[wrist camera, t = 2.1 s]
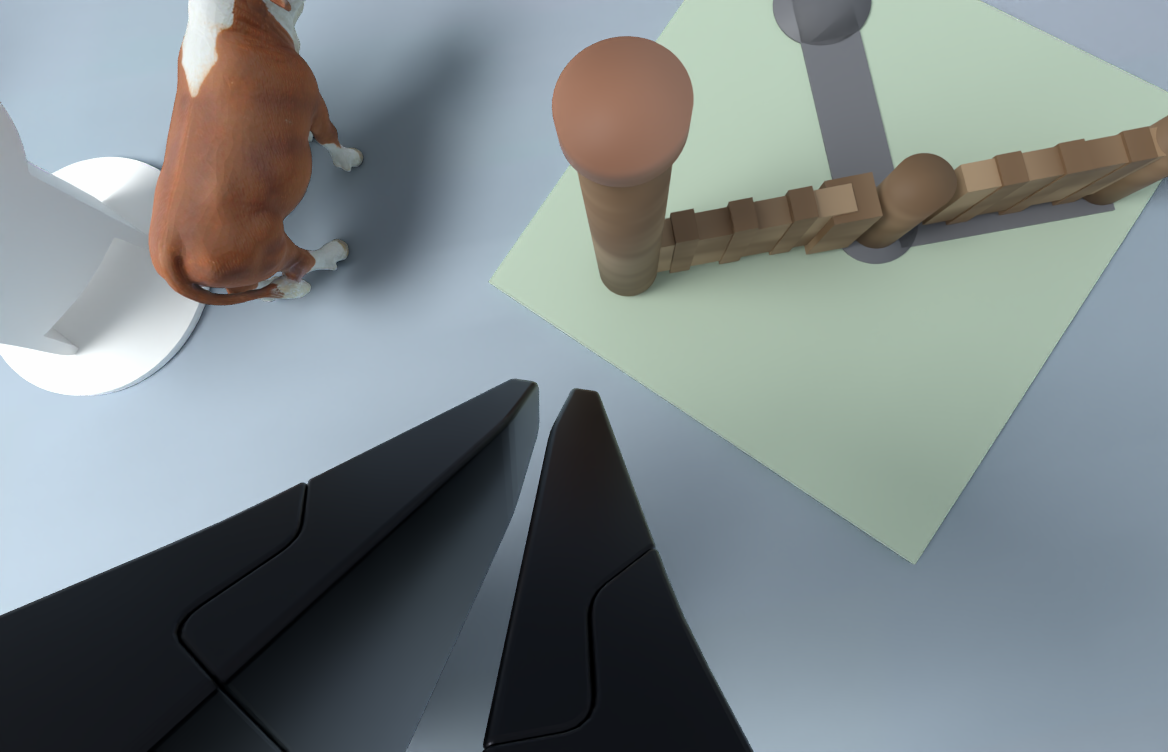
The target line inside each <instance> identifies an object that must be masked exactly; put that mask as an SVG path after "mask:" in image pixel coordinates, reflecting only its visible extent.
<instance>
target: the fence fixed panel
mask: <svg viewBox="0 0 1168 752" xmlns="http://www.w3.org/2000/svg"><path fill="white" fill-rule="evenodd" d="M1165 177H1168V115H1167V116H1166V117H1164V118H1162V119H1161V120H1159V121H1157V122H1156V123H1154V124H1152V125H1151V126H1147V127H1141V128H1136V129H1131V130H1126V131H1122V132H1120V133H1119V134H1117V135H1114V136H1108V137H1103V138H1098V139H1093V140H1087V141H1085V139H1079V140H1073V141H1068V142H1063V143H1059V144H1057V145H1056V146H1054V147H1051V148H1045V149H1040V150H1035V151H1030V152H1024V153H1022V152H1021V151H1016V152H1011V153H1005V154H1000V155H996V156H995V157H993V158H992V159H988V160H982V161H977V162H972V163H967V164H961V165H960V166H958V167H957V168H956V169H955V170H954V169H953V168H952V166H951V165H950V164H949V163H948V162H947V161H946V160H945V159H943V158H942V157H940V156H938V155H935V154H931V153H918V154H914V155H911V156H909V157H907V158H906V159H904V160H903V161H902V162H901V163H900V164H899V165H898V166H897V167H896V168H895V169H894V170H893V171H892V172H891V173H890V174H889V175H888V176H887V177H886V178H885V179H884V180H883V181H882V182H881V183H880V184H879V185H878V186H877V187H876V189H877V194H878V198H879V202H880V206H881V210H882V214H883V216H882V217H881V218H880V219H879V220H878V221H877V222H875V223H874V224H873V225H872V226H871V227H870V228H869V229H867V230H866V231H865V232H864V233H863V234H862V235H861V236H860V237H858V238H857V239H856V241H857V242H859V243H860V244H861V245H863V246H865V247H868V248H874V249H879V248H884V247H887V246H889V245H891V244H892V243H894V242H895V241H896V240H898V239H899V238H900V237H902V236H903V235H904V234H906V233H907V232H908V231H910V230H911V229H913V228H914V227H915V226H917V225H918V224H919V223H921V222H922V224H923V225H927V224H932V223H938V222H943V221H945V222H946V225H950V224H955V223H961V222H966V221H969V220H970V219H972V218H973V217H975V216H976V215H981V214H987V213H992V212H998V214H999V215H1005V214H1010V213H1016V212H1021V211H1022V210H1024V209H1026V208H1028V207H1029V206H1031V205H1036V204H1041V203H1047V202H1052V205H1053V206H1054V205H1060V204H1065V203H1070V202H1075V201H1077V200H1079V199H1081V198H1083V199H1084V200H1086V201H1087V202H1089V203H1092V204H1095V205H1108V204H1112V203H1114V202H1116V201H1118V200H1120V199H1122V198H1124V197H1126V196H1128V195H1130V194H1132V193H1135V192H1137V191H1139V190H1141V189H1143V188H1145V187H1147V186H1149V185H1151V184H1153V183H1155V182H1157V181H1159V180H1161V179H1163V178H1165Z"/></svg>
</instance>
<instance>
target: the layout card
mask: <svg viewBox="0 0 1168 752" xmlns="http://www.w3.org/2000/svg"><path fill="white" fill-rule="evenodd" d="M656 43H658V44H660V45H662V46H664V47H665V48H667V49H668V50H670V51H671V52H672V53H673V54H674V55H675V56H676V57H677V58H678V59H679V60H680V61H681V62H682V64H683V65H684V67H685V69H686V70H687V72H688V75H689V77H690V79H691V83H692V87H693V94H694V104H693V110H692V116H691V122H690V128H689V133H688V137H687V141H686V144H685V146H684V148H683V150H682V152H681V154H680V155H679V157H678V158H677V160H676V161H675V162H674V163H673V165H672V172H671V179H670V186H669V193H668V200H667V207H666V215H665V219H666V218H670V213H672V212H677V211H683V210H688V209H693V208H694V213H698V212H703V211H708V210H713V209H719V208H724V207H727V205H728V202H730V201H735V200H740V199H745V198H750V197H753V202H755V201H761V200H766V199H771V198H776V197H782V196H785V195H786V193H787V191H788V190H792V189H797V188H803V187H808V186H812V187H813V190H818V189H819V188H820V186H821V185H822V184H823V182H824V181H827V180H832V179H837V178H842V177H848V176H853V175H858V174H863V173H869V172H872V173H873V177H874V181H875V185H876V187H877V186H878V185H879V184H880V183H881V182H882V181H883V180H884V179H885V178H886V177H887V176H888V175H889V174H890V173H891V172H892V171H893V170H894V169H895V168H896V167H897V166H898V165H899V164H900V163H901V162H902V161H903V160H904V159H906V158H907V157H909V156H911V155H914V154H918V153H931V154H935V155H938V156H940V157H942V158H943V159H945V160H946V161H947V162H948V163H949V164H950V165H951V166H952V168H953V169H954V170H955V169H956V168H957V167H958V166H960V165H961V164H967V163H972V162H977V161H982V160H988V159H992V158H993V157H995V156H996V155H1000V154H1005V153H1011V152H1016V151H1021V152H1022V153H1024V152H1030V151H1035V150H1040V149H1045V148H1051V147H1054V146H1056V145H1057V144H1059V143H1063V142H1068V141H1073V140H1079V139H1085V141H1087V140H1093V139H1098V138H1103V137H1108V136H1114V135H1117V134H1119V133H1120V132H1122V131H1126V130H1131V129H1136V128H1141V127H1147V126H1151V125H1152V124H1154V123H1156V122H1157V121H1159V120H1161V119H1162V118H1164V117H1166V116H1167V115H1168V92H1167V91H1165V90H1163V89H1161V88H1159V87H1157V86H1154V85H1152V84H1150V83H1148V82H1146V81H1144V80H1142V79H1140V78H1138V77H1136V76H1134V75H1132V74H1130V73H1128V72H1126V71H1124V70H1122V69H1120V68H1117V67H1115V66H1113V65H1111V64H1109V63H1107V62H1105V61H1103V60H1101V59H1099V58H1097V57H1095V56H1093V55H1091V54H1089V53H1087V52H1085V51H1083V50H1080V49H1078V48H1076V47H1074V46H1072V45H1070V44H1068V43H1066V42H1064V41H1062V40H1060V39H1058V38H1056V37H1054V36H1052V35H1050V34H1048V33H1046V32H1044V31H1041V30H1039V29H1037V28H1035V27H1033V26H1031V25H1029V24H1027V23H1025V22H1023V21H1021V20H1019V19H1017V18H1015V17H1013V16H1011V15H1009V14H1007V13H1004V12H1002V11H1000V10H998V9H996V8H994V7H992V6H990V5H988V4H986V3H984V2H982V1H980V0H684V2H683V3H682V4H681V6H680V7H679V9H678V10H677V12H676V13H675V14H674V16H673V17H672V19H671V20H670V22H669V23H668V24H667V26H666V27H665V29H664V30H663V32H662V33H661V35H660V36H659V37H658V39H657V40H656ZM1161 181H1162V179H1161V180H1159V181H1157V182H1155V183H1153V184H1151V185H1149V186H1147V187H1145V188H1143V189H1141V190H1139V191H1137V192H1135V193H1132V194H1130V195H1128V196H1126V197H1124V198H1122V199H1120V200H1118V201H1116V202H1114V203H1112V204H1108V205H1095V204H1092V203H1089V202H1087V201H1086V200H1084V199H1083V198H1081V199H1079V200H1077V201H1075V202H1070V203H1065V204H1060V205H1054V206H1053V205H1052V202H1047V203H1041V204H1036V205H1031V206H1029V207H1028V208H1026V209H1024V210H1022V211H1021V212H1016V213H1010V214H1005V215H999V214H998V212H992V213H987V214H981V215H976V216H975V217H973V218H972V219H970V220H969V221H966V222H961V223H955V224H950V225H946V222H945V221H943V222H938V223H932V224H927V225H923V224H922V222H921V223H919V224H918V225H917V226H915V227H914V228H913V229H911V230H910V231H908V232H907V233H906V234H904V235H903V236H902V237H900V238H899V239H898V240H896V241H895V242H894V243H892V244H891V245H889V246H887V247H884V248H879V249H874V248H868V247H865V246H863V245H861V244H860V243H859V242H857V241H856V240H855V241H854V242H853V243H852V244H850V245H849V246H848V247H846V248H841V249H835V250H830V251H824V252H819V253H813V254H808V255H806V252H805V248H804V246H798V247H793V248H792V249H791V250H790V252H785V253H779V254H774V255H769V252H766V253H760V254H755V255H749V256H744V257H741V258H740V260H739V261H735V262H730V263H724V264H719V262H718V261H716V262H711V263H706V264H700V265H695V266H690V269H689V270H686V271H681V272H675V273H669V270H667V271H662V272H657V276H656V278H655V281H654V282H653V284H652V285H651V286H650V287H649V288H648V289H647V290H646V291H644V292H643V293H641V294H638V295H635V296H620V295H617V294H615V293H613V292H611V291H610V290H609V289H608V288H607V287H606V286H605V285H604V284H603V282H602V280H601V277H600V274H599V269H598V264H597V260H596V255H595V251H594V246H593V242H592V237H591V232H590V228H589V223H588V219H587V214H586V209H585V205H584V200H583V196H582V191H581V187H580V182H579V177H578V173H577V171H576V170H575V169H574V168H573V167H572V166H571V164H570V165H569V167H568V168H567V170H566V171H565V172H564V174H563V175H562V177H561V178H560V180H559V181H558V182H557V184H556V185H555V187H554V188H553V190H552V191H551V193H550V194H549V195H548V197H547V198H546V200H545V201H544V203H543V204H542V205H541V207H540V208H539V210H538V211H537V213H536V214H535V216H534V217H533V218H532V220H531V221H530V223H529V224H528V226H527V227H526V228H525V230H524V231H523V233H522V234H521V236H520V237H519V239H518V240H517V241H516V243H515V244H514V246H513V247H512V249H511V250H510V251H509V253H508V254H507V256H506V257H505V259H504V260H503V261H502V263H501V264H500V266H499V267H498V269H497V270H496V272H495V273H494V274H493V276H492V277H491V279H490V280H489V283H490V284H491V285H493V286H494V287H496V288H497V289H499V290H500V291H502V292H503V293H505V294H506V295H508V296H509V297H511V298H512V299H514V300H515V301H517V302H518V303H520V304H522V305H523V306H525V307H526V308H528V309H529V310H531V311H532V312H534V313H535V314H537V315H538V316H540V317H541V318H543V319H544V320H546V321H547V322H549V323H550V324H552V325H553V326H555V327H556V328H558V329H559V330H561V331H562V332H564V333H565V334H567V335H568V336H570V337H571V338H573V339H574V340H576V341H577V342H579V343H580V344H582V345H583V346H585V347H586V348H588V349H589V350H591V351H592V352H594V353H595V354H597V355H598V356H600V357H601V358H603V359H604V360H606V361H607V362H609V363H610V364H612V365H613V366H615V367H616V368H618V369H619V370H621V371H622V372H624V373H625V374H627V375H628V376H630V377H631V378H633V379H634V380H636V381H637V382H639V383H640V384H642V385H643V386H645V387H647V388H648V389H650V390H651V391H653V392H654V393H656V394H657V395H659V396H660V397H662V398H663V399H665V400H666V401H668V402H669V403H671V404H672V405H674V406H675V407H677V408H678V409H680V410H681V411H683V412H684V413H686V414H687V415H689V416H690V417H692V418H693V419H695V420H696V421H698V422H699V423H701V424H702V425H704V426H705V427H707V428H708V429H710V430H711V431H713V432H714V433H716V434H717V435H719V436H720V437H722V438H723V439H725V440H726V441H728V442H729V443H731V444H732V445H734V446H735V447H737V448H738V449H740V450H741V451H743V452H744V453H746V454H747V455H749V456H750V457H752V458H753V459H755V460H756V461H758V462H759V463H761V464H762V465H764V466H765V467H767V468H768V469H770V470H772V471H773V472H775V473H776V474H778V475H779V476H781V477H782V478H784V479H785V480H787V481H788V482H790V483H791V484H793V485H794V486H796V487H797V488H799V489H800V490H802V491H803V492H805V493H806V494H808V495H809V496H811V497H812V498H814V499H815V500H817V501H818V502H820V503H821V504H823V505H824V506H826V507H827V508H829V509H830V510H832V511H833V512H835V513H836V514H838V515H839V516H841V517H842V518H844V519H845V520H847V521H848V522H850V523H851V524H853V525H854V526H856V527H857V528H859V529H860V530H862V531H863V532H865V533H866V534H868V535H869V536H871V537H872V538H874V539H875V540H877V541H878V542H880V543H881V544H883V545H884V546H886V547H887V548H889V549H890V550H892V551H893V552H895V553H897V554H898V555H900V556H901V557H903V558H904V559H906V560H907V561H909V562H910V563H912V564H914V565H915V564H916V562H917V561H918V559H919V558H920V556H921V555H922V553H923V552H924V550H925V548H926V547H927V545H928V544H929V542H930V541H931V539H932V537H933V536H934V534H935V533H936V531H937V530H938V528H939V527H940V525H941V523H942V522H943V520H944V519H945V517H946V516H947V514H948V513H949V511H950V509H951V508H952V506H953V505H954V503H955V502H956V500H957V499H958V497H959V495H960V494H961V492H962V491H963V489H964V488H965V486H966V485H967V483H968V481H969V480H970V478H971V477H972V475H973V474H974V472H975V470H976V469H977V467H978V466H979V464H980V463H981V461H982V460H983V458H984V456H985V455H986V453H987V452H988V450H989V449H990V447H991V446H992V444H993V442H994V441H995V439H996V438H997V436H998V435H999V433H1000V432H1001V430H1002V428H1003V427H1004V425H1005V424H1006V422H1007V421H1008V419H1009V418H1010V416H1011V414H1012V413H1013V411H1014V410H1015V408H1016V407H1017V405H1018V403H1019V402H1020V400H1021V399H1022V397H1023V396H1024V394H1025V393H1026V391H1027V389H1028V388H1029V386H1030V385H1031V383H1032V382H1033V380H1034V379H1035V377H1036V375H1037V374H1038V372H1039V371H1040V369H1041V368H1042V366H1043V365H1044V363H1045V361H1046V360H1047V358H1048V357H1049V355H1050V354H1051V352H1052V351H1053V349H1054V347H1055V346H1056V344H1057V343H1058V341H1059V340H1060V338H1061V336H1062V335H1063V333H1064V332H1065V330H1066V329H1067V327H1068V326H1069V324H1070V322H1071V321H1072V319H1073V318H1074V316H1075V315H1076V313H1077V312H1078V310H1079V308H1080V307H1081V305H1082V304H1083V302H1084V301H1085V299H1086V298H1087V296H1088V294H1089V293H1090V291H1091V290H1092V288H1093V287H1094V285H1095V284H1096V282H1097V280H1098V279H1099V277H1100V276H1101V274H1102V273H1103V271H1104V269H1105V268H1106V266H1107V265H1108V263H1109V262H1110V260H1111V259H1112V257H1113V255H1114V254H1115V252H1116V251H1117V249H1118V248H1119V246H1120V245H1121V243H1122V241H1123V240H1124V238H1125V237H1126V235H1127V234H1128V232H1129V231H1130V229H1131V227H1132V226H1133V224H1134V223H1135V221H1136V220H1137V218H1138V217H1139V215H1140V213H1141V212H1142V210H1143V209H1144V207H1145V206H1146V204H1147V202H1148V201H1149V199H1150V198H1151V196H1152V195H1153V193H1154V192H1155V190H1156V188H1157V187H1158V185H1159V184H1160V182H1161Z"/></svg>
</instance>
